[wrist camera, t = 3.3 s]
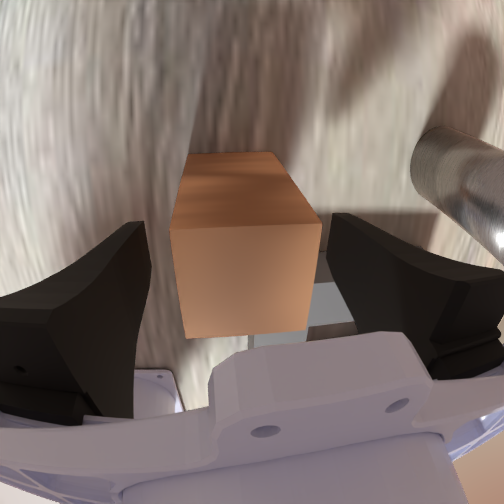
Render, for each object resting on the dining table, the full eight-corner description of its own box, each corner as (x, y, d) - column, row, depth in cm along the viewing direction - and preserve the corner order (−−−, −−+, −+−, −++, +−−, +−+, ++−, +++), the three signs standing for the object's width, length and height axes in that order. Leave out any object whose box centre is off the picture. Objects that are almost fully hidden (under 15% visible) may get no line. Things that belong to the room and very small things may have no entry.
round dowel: (403, 199, 18) (486, 274, 11) (416, 120, 15) (521, 167, 8) (458, 201, 18) (536, 265, 12) (473, 132, 16) (565, 179, 9)
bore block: (247, 377, 25) (252, 407, 22) (249, 255, 19) (255, 287, 16) (378, 359, 26) (390, 384, 24) (420, 246, 20) (443, 270, 17)
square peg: (192, 228, 17) (186, 338, 11) (187, 154, 15) (169, 230, 8) (269, 225, 18) (305, 329, 11) (272, 151, 15) (322, 223, 9)
